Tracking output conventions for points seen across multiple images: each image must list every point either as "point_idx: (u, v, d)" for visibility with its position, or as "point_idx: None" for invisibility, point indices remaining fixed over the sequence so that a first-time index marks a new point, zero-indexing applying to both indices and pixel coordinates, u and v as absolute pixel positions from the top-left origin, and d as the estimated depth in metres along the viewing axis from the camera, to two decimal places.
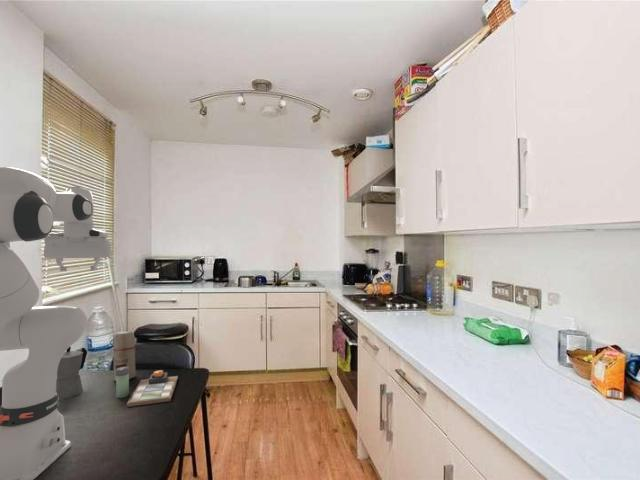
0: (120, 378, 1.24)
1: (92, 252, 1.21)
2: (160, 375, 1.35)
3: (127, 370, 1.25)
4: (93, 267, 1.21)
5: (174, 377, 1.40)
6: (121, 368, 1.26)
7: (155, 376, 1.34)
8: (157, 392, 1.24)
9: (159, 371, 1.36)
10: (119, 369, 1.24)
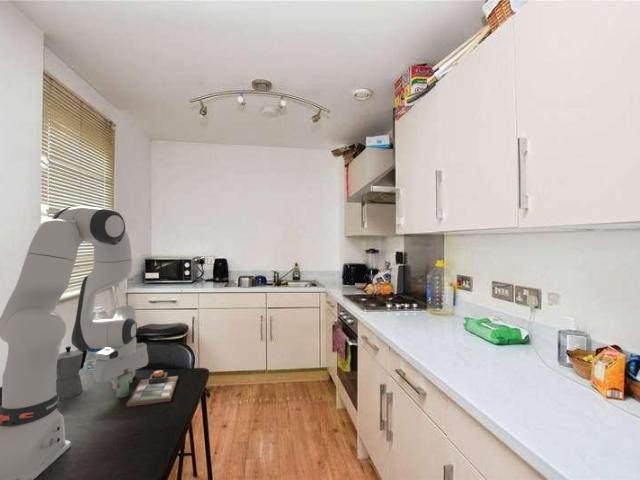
0: (120, 378, 1.24)
1: None
2: (160, 375, 1.35)
3: (127, 370, 1.25)
4: None
5: (174, 377, 1.40)
6: None
7: (155, 376, 1.34)
8: (157, 392, 1.24)
9: (159, 371, 1.36)
10: None
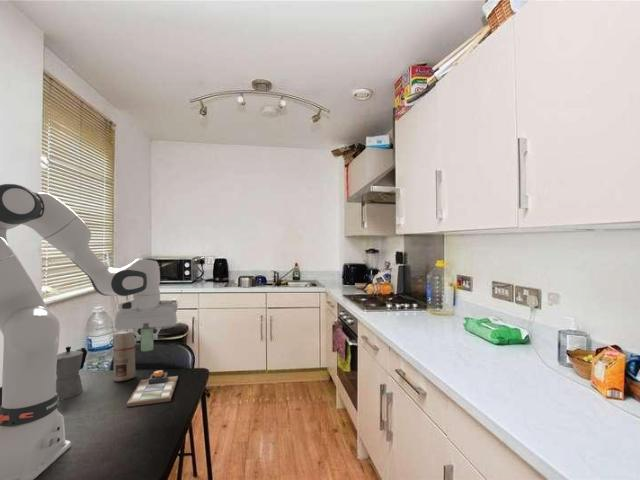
0: (141, 331, 1.22)
1: None
2: (160, 375, 1.35)
3: (147, 325, 1.22)
4: None
5: (174, 377, 1.40)
6: None
7: (155, 376, 1.34)
8: (157, 392, 1.24)
9: (159, 371, 1.36)
10: None
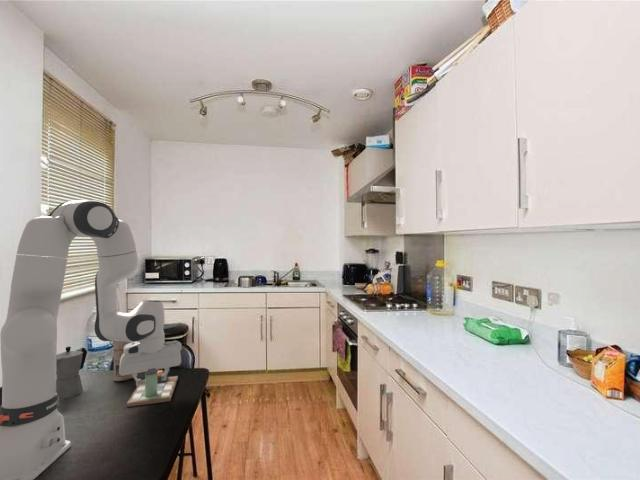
0: (146, 376, 1.20)
1: None
2: (160, 375, 1.35)
3: (153, 370, 1.21)
4: None
5: (174, 377, 1.40)
6: None
7: None
8: (157, 392, 1.24)
9: (159, 371, 1.36)
10: None
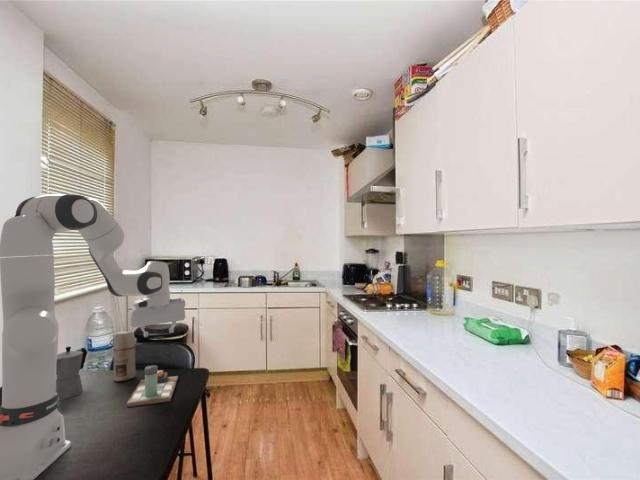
0: (146, 376, 1.20)
1: None
2: (160, 375, 1.35)
3: (153, 370, 1.21)
4: None
5: (174, 377, 1.40)
6: (150, 366, 1.23)
7: None
8: (157, 392, 1.24)
9: (159, 371, 1.36)
10: (146, 368, 1.21)
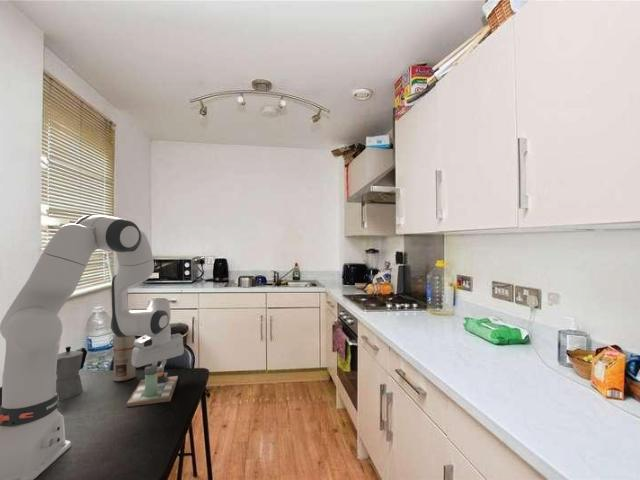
0: (146, 376, 1.20)
1: None
2: (160, 375, 1.35)
3: (153, 370, 1.21)
4: None
5: (174, 377, 1.40)
6: (150, 366, 1.23)
7: None
8: (157, 392, 1.24)
9: None
10: (146, 368, 1.21)
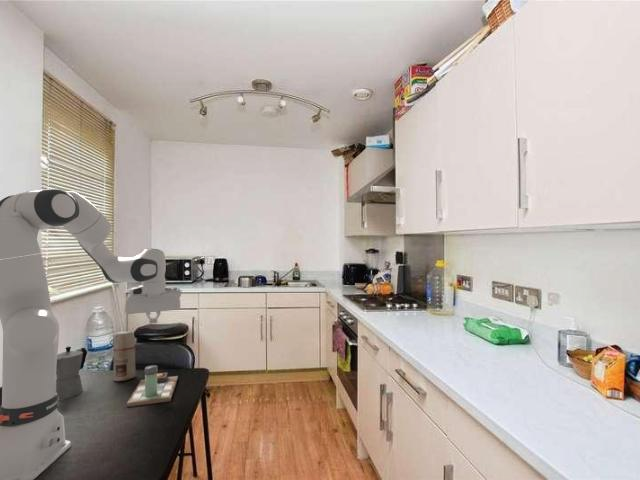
0: (146, 376, 1.20)
1: None
2: None
3: (153, 370, 1.21)
4: None
5: (174, 377, 1.40)
6: (150, 366, 1.23)
7: None
8: (157, 392, 1.24)
9: (159, 374, 1.36)
10: (146, 368, 1.21)
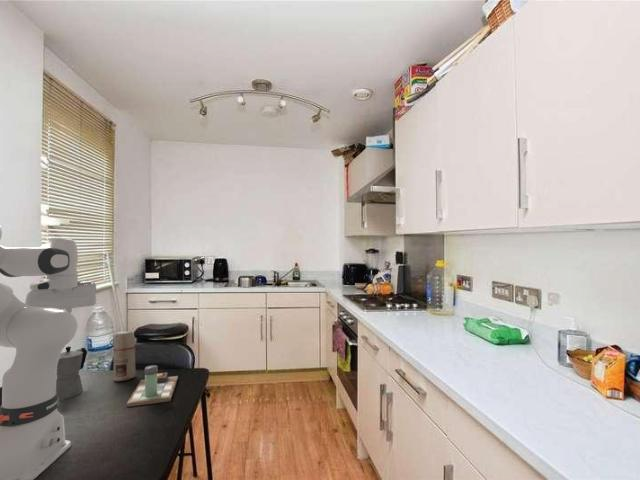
0: (146, 376, 1.20)
1: None
2: None
3: (153, 370, 1.21)
4: None
5: (174, 377, 1.40)
6: (150, 366, 1.23)
7: None
8: (157, 392, 1.24)
9: (159, 374, 1.36)
10: (146, 368, 1.21)
